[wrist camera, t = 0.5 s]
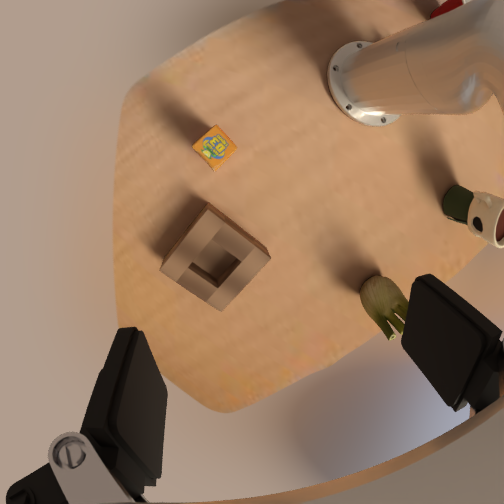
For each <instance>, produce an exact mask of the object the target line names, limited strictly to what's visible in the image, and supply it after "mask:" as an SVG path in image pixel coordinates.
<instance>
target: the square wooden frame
mask: <svg viewBox="0 0 504 504" xmlns="http://www.w3.org/2000/svg"><path fill="white" fill-rule="evenodd" d="M270 259H271V257H270V255H269V253H268V250H267V248H266V247H265V246H263V245H262V244H261V243H260V242H258V241H257V240H256V239H255V238H253V237H252V236H251V235H250V234H248V233H247V232H246V231H244V230H243V229H242V228H241V227H239V226H238V225H237V224H236V223H234V222H233V221H232V220H231V219H229V218H228V217H227V216H225V215H224V214H223V213H222V212H220V211H219V210H218V209H216V208H215V207H214V206H213V205H211V204H210V203H208V204H207V205H206V206H205V207H204V209H203V210H202V211H201V212H200V214H199V215H198V216H197V217H196V218H195V220H194V221H193V222H192V223H191V225H190V226H189V227H188V228H187V230H186V231H185V232H184V234H183V235H182V236H181V237H180V239H179V240H178V241H177V242H176V244H175V245H174V246H173V248H172V249H171V250H170V252H169V253H168V254H167V255H166V257H165V258H164V260H163V262H162V265H161V268H160V270H159V271H161V272H162V273H164V274H165V275H166V276H168V277H169V278H171V279H172V280H174V281H175V282H177V283H178V284H179V285H181V286H182V287H184V288H185V289H187V290H188V291H190V292H191V293H193V294H194V295H196V296H197V297H199V298H200V299H202V300H203V301H205V302H206V303H208V304H209V305H211V306H212V307H214V308H216V309H217V310H219V311H220V312H222V311H223V310H224V309H225V308H226V307H227V305H228V304H229V303H230V302H231V301H232V300H233V299H234V298H235V297H236V296H237V295H238V294H239V293H240V292H241V291H242V290H243V288H244V287H245V286H246V285H247V284H248V283H249V282H250V281H251V280H252V279H253V278H254V277H255V276H256V275H257V273H258V272H259V271H260V270H261V269H262V268H263V267H264V266H265V265H266V264H267V263H268V262H269V261H270Z"/></svg>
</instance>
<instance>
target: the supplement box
mask: <svg viewBox="0 0 504 504" xmlns="http://www.w3.org/2000/svg"><path fill="white" fill-rule="evenodd" d="M192 148H193V149H194V150H195V151H196V152H197V153H198V154H199V155H200V156H201V157H202V158H203V159H204V160H205V161H206V162H207V163H208V165H209V166H210V167H211V168H212V170H213V171H216V170H217V169H218V168H219V167H220V166H221V165H222V164H223V163H224V162H225V161H226V160H227V159H228V158H229V157H230V156H231V155H232V154H233V153H234V152H235V151H236V149H237V147H236V145H235V144H234V143H233V142H232V141H231V140H230V138H229V137H228V136H227V135H226V134H225V133H224V132H223V131H222V130H221V129H220V128H219V127H218V125H215V126H213V127H212V128H211V129H210V130H209V131H208V132H206V133H205V134H204V135H203V136H202V137H201V138H200V139H198V140H197V141H196V142H195V143H194V144H193V145H192Z"/></svg>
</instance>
